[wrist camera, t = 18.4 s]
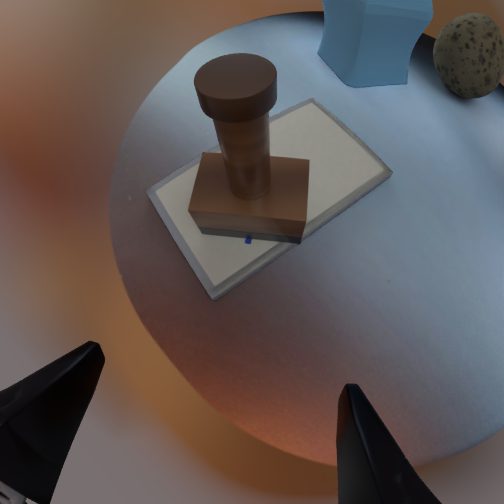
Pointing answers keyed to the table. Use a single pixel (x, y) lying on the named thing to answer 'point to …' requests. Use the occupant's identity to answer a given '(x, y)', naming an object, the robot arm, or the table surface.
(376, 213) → the table surface
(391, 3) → the vase
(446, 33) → the decorative egg
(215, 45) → the table surface
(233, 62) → the wooden rubber stamp
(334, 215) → the board
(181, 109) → the table surface
